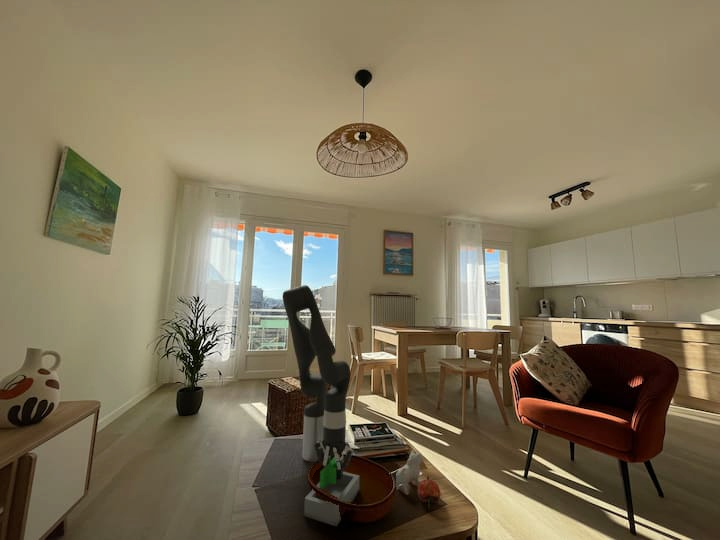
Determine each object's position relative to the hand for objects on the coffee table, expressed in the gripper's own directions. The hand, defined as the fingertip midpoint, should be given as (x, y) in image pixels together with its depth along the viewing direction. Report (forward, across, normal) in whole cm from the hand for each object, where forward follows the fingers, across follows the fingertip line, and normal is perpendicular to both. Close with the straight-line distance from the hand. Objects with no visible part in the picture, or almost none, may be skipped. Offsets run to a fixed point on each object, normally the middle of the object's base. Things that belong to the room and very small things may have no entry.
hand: (333, 477), depth 98 cm
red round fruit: (+8, +29, +12) cm, 33 cm away
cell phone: (+8, +17, +24) cm, 30 cm away
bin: (+8, 0, 0) cm, 8 cm away
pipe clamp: (+1, 0, 0) cm, 1 cm away
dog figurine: (+8, +21, +20) cm, 30 cm away
